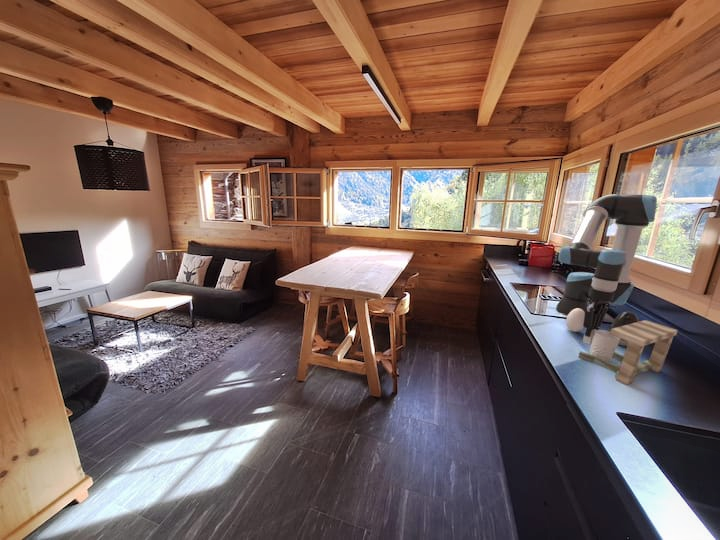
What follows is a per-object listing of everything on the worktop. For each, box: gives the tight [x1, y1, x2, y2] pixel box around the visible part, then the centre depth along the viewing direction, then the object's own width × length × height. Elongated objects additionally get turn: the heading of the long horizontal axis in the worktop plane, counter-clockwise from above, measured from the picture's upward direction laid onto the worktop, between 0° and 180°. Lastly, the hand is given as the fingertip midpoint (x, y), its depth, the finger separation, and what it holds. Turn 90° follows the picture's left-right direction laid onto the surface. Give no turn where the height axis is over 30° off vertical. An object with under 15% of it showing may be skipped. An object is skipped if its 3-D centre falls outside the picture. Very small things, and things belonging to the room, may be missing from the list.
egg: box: [565, 308, 585, 333], centre depth 135 cm, size 7×7×12 cm
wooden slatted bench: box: [578, 319, 679, 386], centre depth 107 cm, size 24×18×17 cm
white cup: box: [589, 329, 621, 362], centre depth 113 cm, size 8×8×10 cm
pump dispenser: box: [607, 310, 640, 347], centre depth 124 cm, size 10×10×15 cm
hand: (586, 342), depth 117 cm, fingers closed
